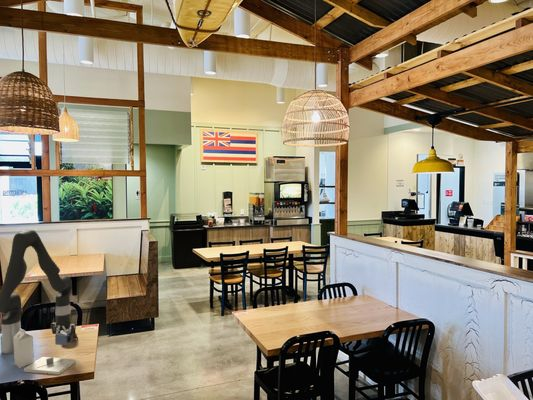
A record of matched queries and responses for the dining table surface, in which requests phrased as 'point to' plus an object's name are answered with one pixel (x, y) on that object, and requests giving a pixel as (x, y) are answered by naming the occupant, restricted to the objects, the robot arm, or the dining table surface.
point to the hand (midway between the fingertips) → (64, 341)
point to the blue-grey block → (61, 338)
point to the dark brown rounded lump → (74, 337)
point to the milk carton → (23, 348)
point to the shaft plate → (49, 365)
